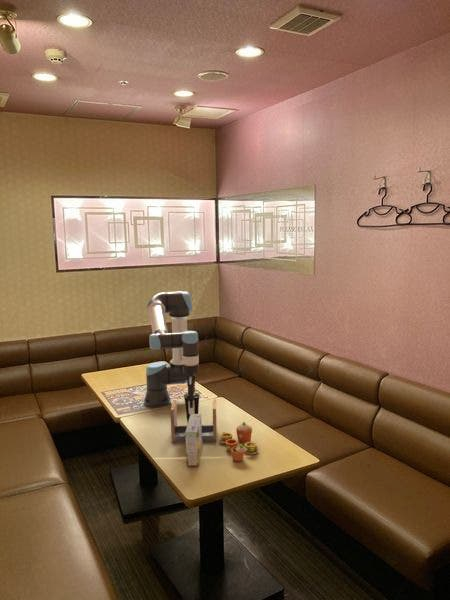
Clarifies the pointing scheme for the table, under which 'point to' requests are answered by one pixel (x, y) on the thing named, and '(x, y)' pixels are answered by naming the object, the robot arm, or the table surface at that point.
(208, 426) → the two-post stand
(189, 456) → the snack box
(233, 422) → the table surface
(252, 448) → the toy tea set
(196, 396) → the drinking cup
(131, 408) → the table surface
